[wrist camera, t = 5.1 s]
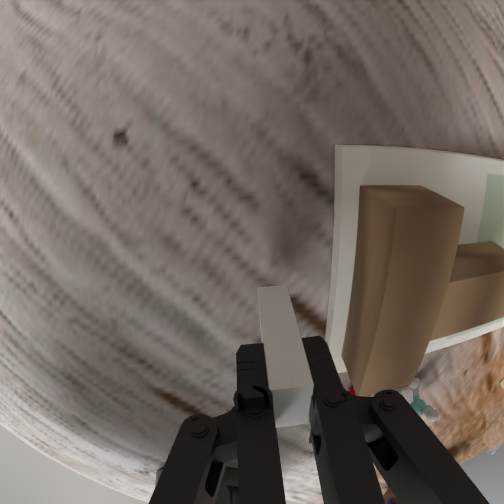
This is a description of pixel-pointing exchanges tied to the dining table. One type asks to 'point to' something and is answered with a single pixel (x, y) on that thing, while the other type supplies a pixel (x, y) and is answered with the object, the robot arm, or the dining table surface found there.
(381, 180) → the board
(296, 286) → the dining table surface
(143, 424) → the dining table surface
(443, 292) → the t block
